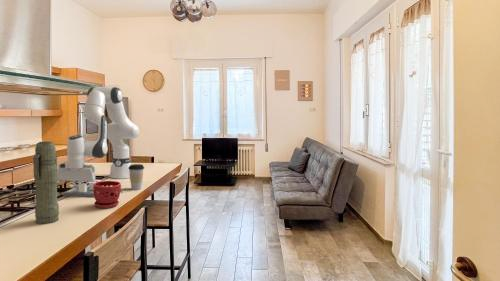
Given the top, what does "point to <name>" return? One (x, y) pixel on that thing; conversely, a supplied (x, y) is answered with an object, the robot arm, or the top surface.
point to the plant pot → (106, 193)
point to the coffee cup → (136, 176)
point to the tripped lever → (82, 187)
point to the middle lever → (91, 185)
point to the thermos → (46, 183)
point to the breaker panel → (79, 193)
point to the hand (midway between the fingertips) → (76, 188)
